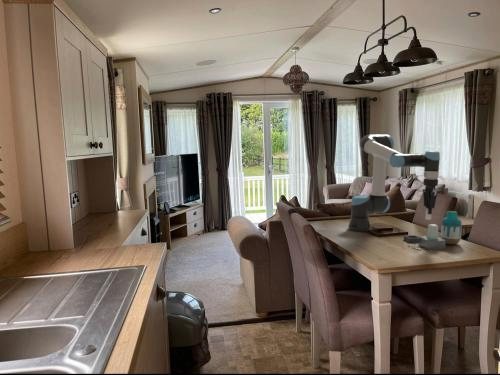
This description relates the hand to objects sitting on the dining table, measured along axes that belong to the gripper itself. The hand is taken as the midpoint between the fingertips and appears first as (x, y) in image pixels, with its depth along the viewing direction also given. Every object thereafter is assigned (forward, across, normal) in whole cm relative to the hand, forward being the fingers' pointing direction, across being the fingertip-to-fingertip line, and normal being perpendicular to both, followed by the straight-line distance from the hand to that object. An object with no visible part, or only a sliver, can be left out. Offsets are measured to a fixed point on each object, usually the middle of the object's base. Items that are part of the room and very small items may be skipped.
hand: (428, 219), depth 223 cm
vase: (+16, -2, +15) cm, 22 cm away
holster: (+16, -10, -4) cm, 19 cm away
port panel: (+15, +4, +1) cm, 16 cm away
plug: (+15, +4, +1) cm, 16 cm away
